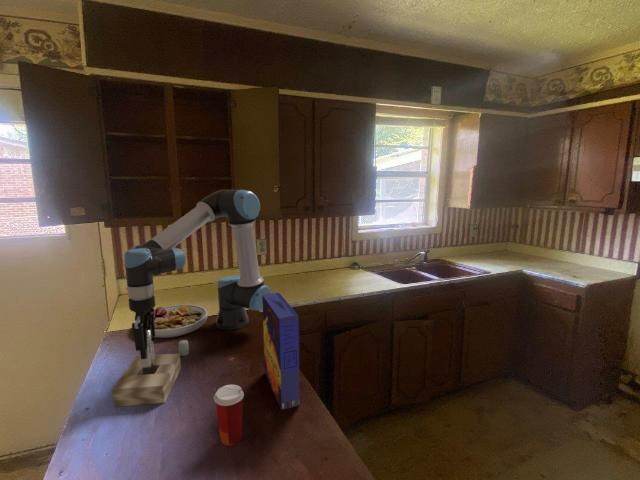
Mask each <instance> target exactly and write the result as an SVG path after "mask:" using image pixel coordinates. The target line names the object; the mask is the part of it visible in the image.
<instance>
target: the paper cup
mask: <svg viewBox="0 0 640 480" xmlns="http://www.w3.org/2000/svg"><path fill="white" fill-rule="evenodd" d="M244 393H245V392H244V391H243V388H241V386H239V385H237V384H226V385H223V386H221V387H219V388H218V389H217V391H216V392H215V394H214V396H213V401H214V402H215V408H216V414H217V415H216V416H217V421H218V430H219V438H220V443H221V444H222V445H224V446H226V447H227V446H229V447H230V446H234V445H237V444H238V443H239V442H240V441H241V439H242V438H243V437H242V435H243V412H244V411H243V409H244V407H243V406H244V405H243V404H244V402H243V401H244V396H245V394H244Z"/></svg>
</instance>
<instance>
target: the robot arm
mask: <svg viewBox="0 0 640 480" xmlns="http://www.w3.org/2000/svg"><path fill="white" fill-rule="evenodd" d="M260 211H261V203H260V200H259V198H258V196H257V195H256V194H255V193H254V192H253V191H250V190H245V189H220V190H219V189H218V190H217V191H214V192H213V193H211V194H209V195H207V196H205V197H204V198H202V199H201V200H200V201H198V202H197V203H196V206H195V207H194V208H192V209H191V210H190V211H188V212H187V213H185V214H184V216H182V217H180V218H178V219H177V220H176V221H174V222H173V223H171V224H170V225H169V226H168V227H167V226H166V228H165V229H163V230H162V231H160V232H159V233H157V234H156V235H154V236H153V237H151V238H150V239H149V240H148V241H145V243H143V244H135V245H133V246H131V247H130V249H128V250H126V251H125V252H124V258H123V260H124V264H123V265H124V270H125V279H126V285H127V286H126V287H125V288H126V289H125V290H126V291H127V297H128V298H129V299H128V308H129V311H131V312H133V313H134V314H135V315H134V321H135V322H132V323H131V327H132V330H133V331H132V332H133V339H134V345H135V351H137V352H138V353H139V356H140V362H141V367H150V366H151V365H150V355H149V347H148V348H147V328H150V329H151V338H152V349H153V359H155V356H154V355H155V347H154V341H155V342H156V339H157V337H154V336H155V325H154V310H155V306H156V298H155V287H154V285H155V284H154V276H158V275H161V274H166V273H170V272H175V271H177V270H179V269H180V270H181V269H183V268H184V267H185V265H186V262H187V261H186V254H185V252H184V251H183V250H182V249H181V248H178V247H177V245H179V244H181V243H182V242H184V240H186V239H187V238H188V237H190V236H191V235H193V234H194V233H195V232H196V231H198V229H201V227H202V226H204V225H205V224H207V223H209V222H213V221H214V220H216V219H219V218H221V217H222V218H223V217H224V218H227V223H228V226H230V227H232V232H233V239H234V245H235V252H236V259H237V264H238V265H237V267H238V271H239V274H238V275H237V274H235V275H230V276H229V275H228V276H224V277H222V278H219V280H218V282H217V297H218V312H217V315H216V319H215V320H216V321H215V325H216V327H217V328H218V329H219V330H220V329H221V330H225V331H233V330H239V329H241V328H243V327H246V326H247V325H248V324H249V316H248V314H247V311H246V309H249V310H251V311H257V312H259V311H261V310H262V311H263V298H262V295H264V294H269V293H272V292H271V288H270V287H269V286H268V285H266V284H265V279H264V277H263V276H261V274H260V268H259V260H258V252H257V244H256V237H255V231H254V229H255V228H254V224H255V223H256V221H257V219H256V218H257V217H258V216H259V214H260ZM175 247H176V248H175Z"/></svg>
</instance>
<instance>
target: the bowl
mask: <svg viewBox="0 0 640 480" xmlns="http://www.w3.org/2000/svg"><path fill="white" fill-rule="evenodd" d="M207 319H208V311H207V309H206V308H204V307H202V306H199V305H195V304H175V305H170V306H169V305H168V306H165V307H162V306H157V308H155V309H154V325H155V336H154V338H160V339H161V338H162V339H163V338H164V339H165V338H174V337H179V336H180V337H181V336H184V335H187V334H190V333H193V332H195V331H197V330H198V329H200V328H202V326H203V325H204V324H205V323H206V321H207Z"/></svg>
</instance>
